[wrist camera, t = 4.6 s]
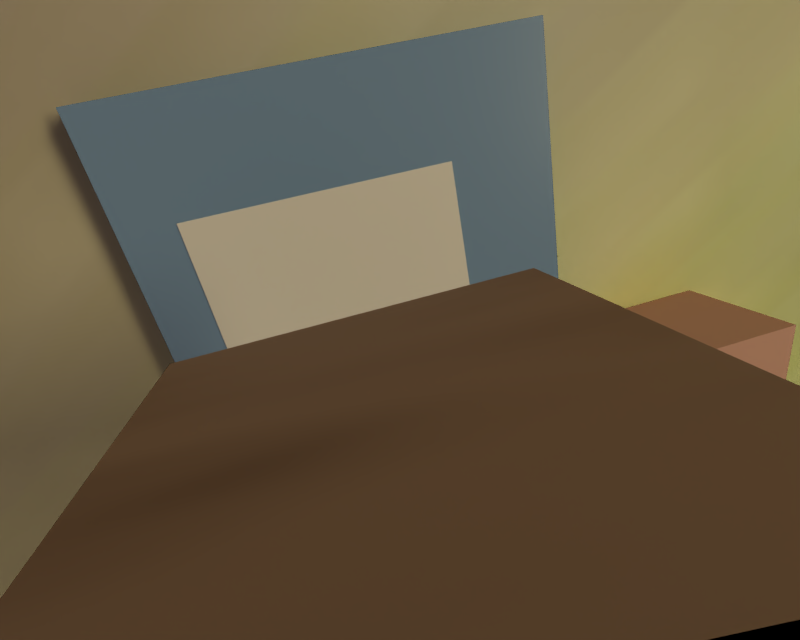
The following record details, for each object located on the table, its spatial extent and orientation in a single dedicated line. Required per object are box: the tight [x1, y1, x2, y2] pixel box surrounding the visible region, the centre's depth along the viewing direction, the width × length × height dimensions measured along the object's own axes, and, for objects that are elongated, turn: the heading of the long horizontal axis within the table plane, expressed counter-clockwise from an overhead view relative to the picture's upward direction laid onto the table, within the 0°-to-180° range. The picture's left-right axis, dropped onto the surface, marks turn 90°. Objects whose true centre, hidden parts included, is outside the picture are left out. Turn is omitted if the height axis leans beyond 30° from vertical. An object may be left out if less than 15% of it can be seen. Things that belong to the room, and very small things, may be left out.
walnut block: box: [0, 268, 800, 640], centre depth 6 cm, size 6×6×6 cm
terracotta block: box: [625, 290, 796, 380], centre depth 19 cm, size 5×5×5 cm
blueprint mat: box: [56, 15, 558, 362], centre depth 17 cm, size 18×16×1 cm
